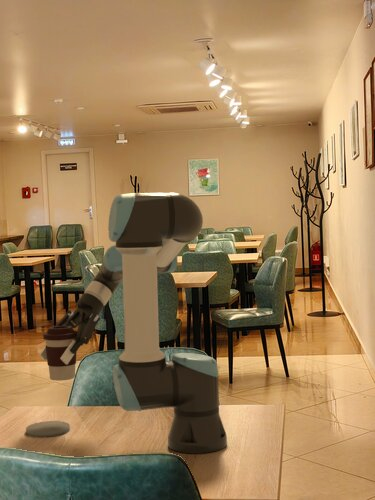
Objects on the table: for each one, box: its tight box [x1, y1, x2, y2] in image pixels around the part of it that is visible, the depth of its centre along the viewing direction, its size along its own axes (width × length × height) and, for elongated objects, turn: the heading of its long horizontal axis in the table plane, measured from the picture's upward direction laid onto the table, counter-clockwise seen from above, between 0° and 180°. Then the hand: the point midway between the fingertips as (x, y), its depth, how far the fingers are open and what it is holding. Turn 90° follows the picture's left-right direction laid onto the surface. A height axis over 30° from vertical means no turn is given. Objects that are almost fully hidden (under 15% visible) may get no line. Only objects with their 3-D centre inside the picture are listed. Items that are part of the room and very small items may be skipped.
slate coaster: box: [25, 420, 71, 439], centre depth 204 cm, size 12×12×1 cm
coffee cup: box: [42, 325, 77, 381], centre depth 213 cm, size 10×10×15 cm
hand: (52, 359), depth 211 cm, fingers closed on coffee cup, 10 cm apart
